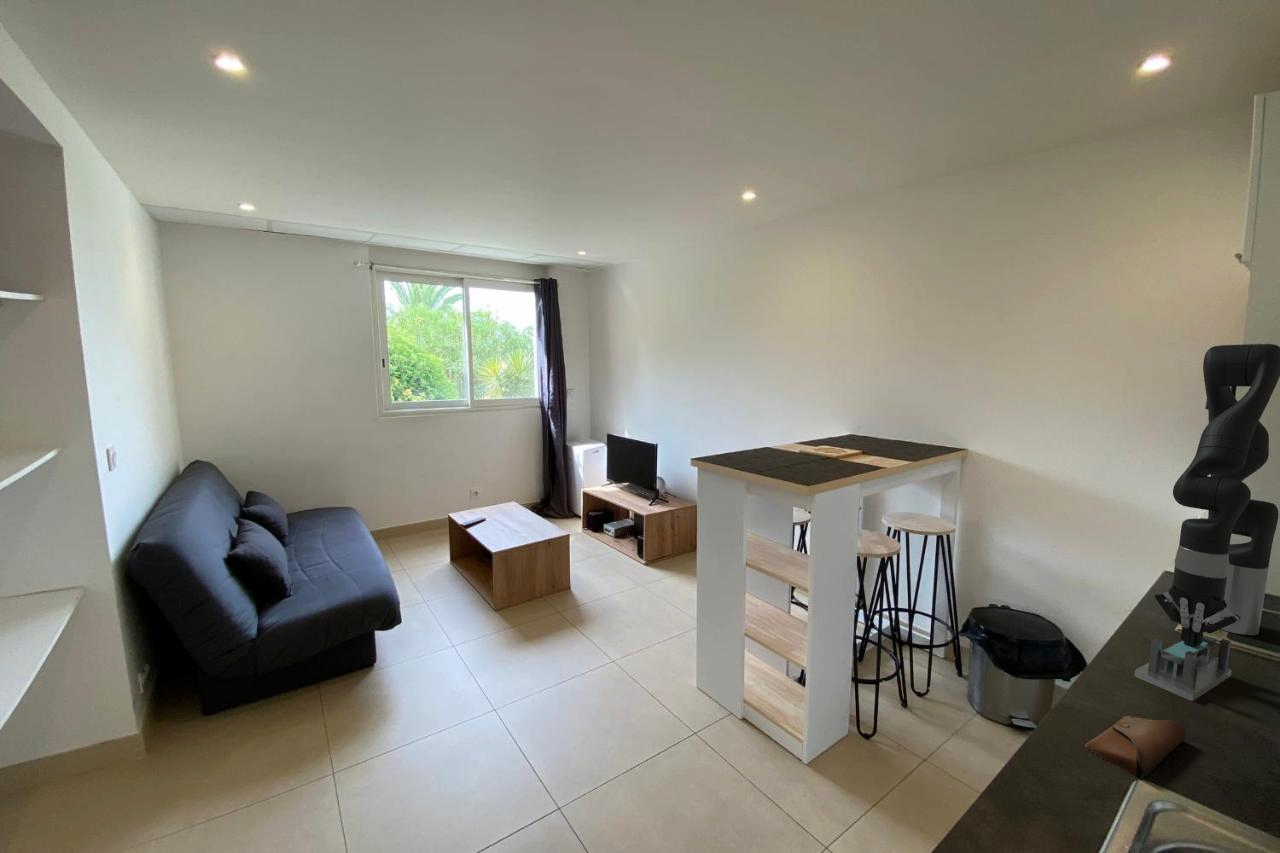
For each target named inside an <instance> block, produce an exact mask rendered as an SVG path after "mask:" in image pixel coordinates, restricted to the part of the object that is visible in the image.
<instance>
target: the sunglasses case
mask: <svg viewBox="0 0 1280 853" xmlns="http://www.w3.org/2000/svg"><path fill="white" fill-rule="evenodd" d="M1185 739H1186V731H1185V729H1184V728H1183V727H1182V725H1181V724H1180V723H1179V722H1178V721H1175V720H1169V719H1166V720H1165V719H1148V718H1142V717H1138V716H1137V717H1136V716H1130V715H1124V716H1123V717H1121V718H1120V719H1119V720H1118V721H1116V722H1115V723H1114V724H1112V725H1111V726H1110V727H1108V728H1107V729H1105V730H1104V731H1103V732H1101V733H1100V734H1099V735H1097V736H1096V737H1094V738H1092V739H1091V740H1089V741H1088V742H1087V743H1086V744H1085V745H1084V746H1085V747H1086V748H1089V749H1090V750H1092V751H1094V752H1096V753H1097V754H1099V755H1101V756H1102V757H1103V758H1104V759H1103V758H1102V759H1103V760H1105V759H1107V760H1108V761H1109V763H1110V762H1111V763H1110V764H1112V765H1113V764H1115V765H1116V766H1115V765H1114V766H1115V767H1117V766H1118V767H1117V768H1119V767H1120V768H1119V769H1121V768H1122V769H1123V770H1122V769H1121V770H1122V771H1124V770H1125V772H1126V771H1127V772H1126V773H1129V775H1131V774H1132V775H1131V776H1133V775H1134V776H1133V777H1135V776H1136V777H1135V778H1137V779H1138V778H1139V779H1138V780H1142V779H1145V778H1146V777H1147V776H1148V775H1149V774H1151V773H1152V771H1154V769H1155V768H1156V767H1158V765H1159V764H1160V763H1161V762H1162V761H1163V760H1164V759H1165V758H1166V757H1167V756H1168V755H1169V754H1170V753H1171V752H1173V751H1174V750H1175V749H1176V747H1178V746H1180V744H1182V743H1183V741H1184V740H1185ZM1108 761H1107V762H1108Z"/></svg>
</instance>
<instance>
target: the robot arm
mask: <svg viewBox="0 0 1280 853" xmlns="http://www.w3.org/2000/svg"><path fill="white" fill-rule="evenodd" d="M1202 372H1203V380H1204V387H1205V388H1204V389H1205V394H1206V402H1207V408H1208V412H1207V413H1208V414H1207V415H1208V423H1207V425H1206V426H1205V427H1204V429H1203V431H1202V433H1201V435H1200V439H1199V442H1198V445H1197V448H1196V453H1195V455H1194V458H1193V460H1192V461H1191V463H1190V464H1189V465H1188V467H1187V468H1186V469H1185V470H1184V472H1183V473H1182V474H1181V475H1180V476H1179V477H1178V479H1177V480H1176V481H1175V484H1174V485H1173V489H1172V497H1173V498H1174V500H1175V502H1176V503H1177V504H1179V505H1181V506H1183V507H1186V508H1191V509H1199V510H1204V511H1208V514H1207V515H1208V516H1207V518H1188V519H1184V520H1183V521H1182V523H1181V527H1180V535H1179V543H1178V548H1177V549H1176V550H1177V551H1176V554H1175V559H1174V569H1173V570H1174V571H1173V576H1172V586H1171V587H1170V588H1169V589H1168V591H1166V592H1158V593H1157V594H1155V595H1154V598H1155V600H1156V601H1157V602H1158V604H1159V605H1160V607H1161V608H1162V609H1163V611H1164V612H1165V614H1166V615H1167V616H1168V618H1169V619H1170V621H1172V622H1175V623H1177V624H1178V625H1180V626H1181V635H1180V639H1181V641H1184V644H1185V645H1188V646H1191V647H1193V648H1194V647H1195V646H1199V645H1201V643H1202V640H1203V635H1204V633H1207V634H1212V633H1215V632H1217V631H1220V630H1222V631H1225V632H1229V633H1233V634H1239V635H1245V636H1256V635H1259V632H1260V627H1261V620H1262V615H1263V610H1264V609H1263V608H1264V601H1265V594H1266V589H1267V581H1268V575H1269V567H1270V561H1271V554H1272V548H1273V543H1274V538H1275V534H1276V530H1277V526H1278V522H1279V515H1280V514H1279V507H1277V505H1276V504H1275V503H1273V502H1270V501H1269V502H1268V501H1265V500H1258V499H1251V497H1252V493H1251V489H1250V488H1249V486H1248V485H1247V484H1246V483H1245V482H1243V481H1244V480H1246V479H1247V478H1248V477H1250V476H1251V475H1253V474H1254V473H1256V472H1257V471H1259V470H1260V469H1261V468H1262V467H1263V466H1264V465H1265V464H1266V463H1267V461H1268V459H1269V456H1270V435H1269V432H1268V430H1267V428H1266V427H1265V426H1264V425H1263V424H1262V423H1261V422H1260V420H1261V417H1262V415H1263V414H1264V411H1265V410H1266V407H1267V406H1268V405H1269V401H1270V400H1271V397H1272V395H1273V393H1274V391H1275V390H1276V386H1277V384H1278V382H1279V380H1280V346H1279V345H1277V344H1274V343H1254V344H1253V343H1252V344H1251V343H1250V344H1249V343H1248V344H1245V343H1244V344H1226V345H1225V344H1223V345H1214V346H1211V347H1210V348H1209V349H1208V350H1207V351H1206V352H1205V355H1204V358H1203V363H1202ZM1231 387H1246V388H1247V387H1249V388H1248V390H1247V391H1246V393H1245V394H1244V395H1243V396H1242V397H1241V398H1240V399H1239V400H1237V399H1236V397H1235V395H1234V393H1233V391H1232V389H1231ZM1232 534H1233V535H1238V536H1243V537H1248V538H1250V540H1249V541H1248V542H1247V541H1246V542H1242V543H1231V540H1232V539H1231V538H1232ZM1173 602H1174V603H1175V604H1176V605H1175V604H1174V603H1173ZM1177 607H1178V608H1179V609H1178V608H1177ZM1179 610H1180V611H1179ZM1208 618H1210V619H1211V620H1212V621H1213V623H1214V624H1212V625H1210V624H1207V620H1208Z"/></svg>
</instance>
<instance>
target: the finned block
mask: <svg viewBox="0 0 1280 853" xmlns="http://www.w3.org/2000/svg"><path fill="white" fill-rule="evenodd" d="M1178 643H1179V642H1176V643H1174V644H1171V645H1170V646H1168V647H1167V648H1165V649H1163V640H1160V639H1158V638H1153V639H1152V640H1151V642H1150V649H1149V651H1150V652H1149V659H1148V662H1147V663H1146V664H1144V665H1142V666H1140V667H1137V668H1135V669H1134V677H1135V678H1138V679H1140V680H1142V681H1143V682H1146V683H1149V684H1152V685H1153V686H1156V687H1157V688H1161V689H1163V690H1165V691H1167V692H1169V693H1172V694H1174V695H1177V696H1179V697H1181V698H1184V699H1186V700H1187V701H1190V702H1194V701H1195V700H1196V699H1198V698H1200V697H1201V696H1203V695H1205V694H1206V693H1207V692H1209V691H1210V690H1212V689H1214V688H1216V687H1217V686H1218V685H1220V684H1221V683H1223V682H1224V681H1226V680H1227V679H1229V678H1230V677H1231V675H1232V669H1229V667H1228V666H1229V662H1230V652H1231V648H1232V647H1231V645H1232V641H1230V640H1228V639H1225V638H1222V639H1221V640H1220V641H1219V651H1218V656H1214V657H1212V658H1211V659H1209V658H1210V651H1211V647H1209V646H1206V647H1205V648H1204V649H1202V650H1201V651H1199V652H1198V653H1193V652H1191V651H1188V652H1186V653H1185V659H1184V662H1183V664H1182V665H1180V664H1177V663H1175V662H1172V661H1170V660H1167V659H1164V658H1162V657H1161V654H1162V652H1163V651H1167V650H1168V649H1170V648H1171V647H1173V646H1175V645H1176V644H1178Z"/></svg>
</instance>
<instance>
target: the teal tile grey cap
mask: <svg viewBox="0 0 1280 853" xmlns="http://www.w3.org/2000/svg"><path fill="white" fill-rule="evenodd" d="M1216 642H1217V639H1216V638H1213V637H1210V636H1207V635H1205V634H1203V640H1202V643H1201V645H1199V646H1195V647H1194V648H1193V647H1191V646H1188V645H1185V644H1184V641H1182V640H1181V641H1179V642H1177V643H1178V644H1176V643H1175V644H1176V645H1175V646H1173V647H1171V648H1170V649H1168V650H1167V651H1163V652H1162V654H1161V657H1162V658H1164V659H1167V660H1170V661H1172V662H1175V663H1177V664H1180V665H1182V664H1183V662H1184V659H1185V653H1186V652H1188V651H1191V652H1193V653H1198V652H1199V651H1201V650H1202V649H1204V648H1205V647H1206V646H1207V647H1209V646H1211V647H1212V646H1214V645H1216Z"/></svg>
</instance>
